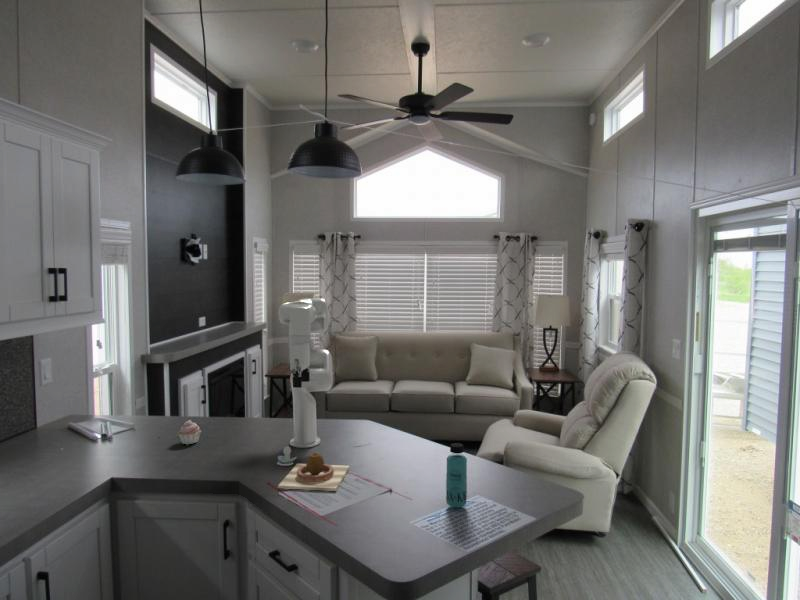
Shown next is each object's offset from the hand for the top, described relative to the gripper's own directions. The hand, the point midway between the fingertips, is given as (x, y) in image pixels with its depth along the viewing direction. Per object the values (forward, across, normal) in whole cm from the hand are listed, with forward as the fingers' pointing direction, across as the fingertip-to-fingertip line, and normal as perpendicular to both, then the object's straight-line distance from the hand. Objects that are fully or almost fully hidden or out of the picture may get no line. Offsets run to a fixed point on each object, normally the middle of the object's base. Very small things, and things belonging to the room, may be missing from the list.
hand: (301, 384), depth 203 cm
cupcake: (+31, -17, -55) cm, 65 cm away
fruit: (+29, +14, +9) cm, 34 cm away
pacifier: (+31, +1, -6) cm, 31 cm away
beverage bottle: (+31, +31, +59) cm, 73 cm away
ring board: (+30, +14, +9) cm, 35 cm away
